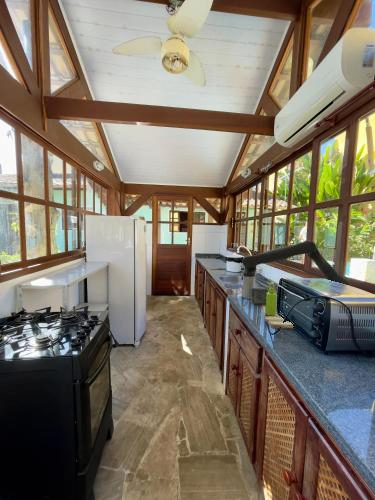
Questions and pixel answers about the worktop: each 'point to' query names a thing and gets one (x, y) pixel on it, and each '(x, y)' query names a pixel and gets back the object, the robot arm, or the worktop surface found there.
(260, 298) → the small box
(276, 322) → the birch board
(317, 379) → the worktop surface
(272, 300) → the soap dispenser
